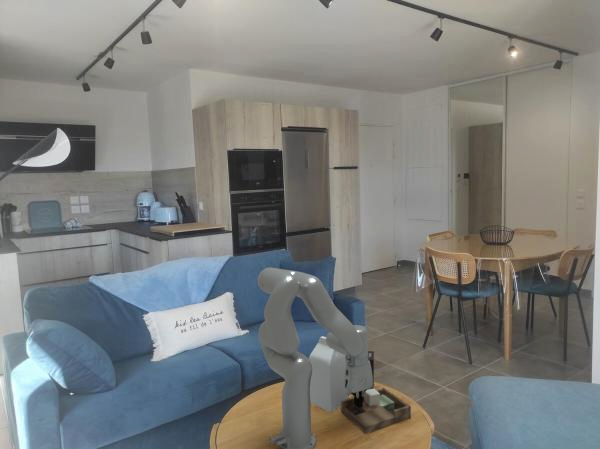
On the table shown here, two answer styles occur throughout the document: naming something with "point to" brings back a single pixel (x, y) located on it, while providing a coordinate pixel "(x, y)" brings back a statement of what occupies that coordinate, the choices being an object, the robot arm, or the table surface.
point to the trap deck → (376, 412)
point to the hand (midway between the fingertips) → (358, 405)
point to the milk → (327, 377)
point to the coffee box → (371, 359)
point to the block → (372, 397)
